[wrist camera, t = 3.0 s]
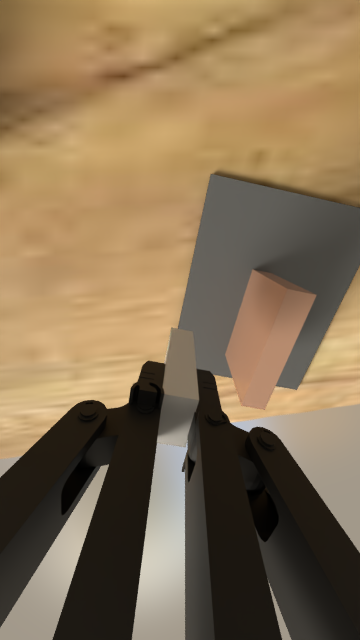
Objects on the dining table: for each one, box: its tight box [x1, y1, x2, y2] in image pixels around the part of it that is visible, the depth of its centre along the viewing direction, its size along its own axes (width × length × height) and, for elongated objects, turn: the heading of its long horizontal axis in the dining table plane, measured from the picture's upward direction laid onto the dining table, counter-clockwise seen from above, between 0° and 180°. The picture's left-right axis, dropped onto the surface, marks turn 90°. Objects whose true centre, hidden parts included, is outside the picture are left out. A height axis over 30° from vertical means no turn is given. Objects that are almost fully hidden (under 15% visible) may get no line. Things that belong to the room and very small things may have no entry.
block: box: [225, 269, 316, 410], centre depth 20 cm, size 10×2×8 cm, turn 169°
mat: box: [178, 174, 360, 390], centre depth 23 cm, size 20×16×1 cm
